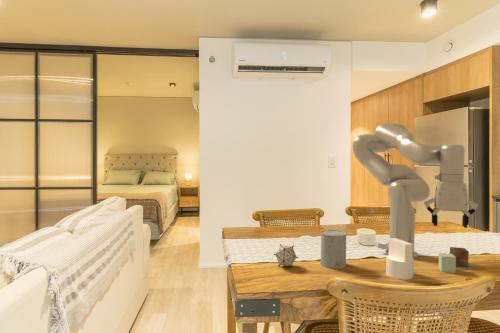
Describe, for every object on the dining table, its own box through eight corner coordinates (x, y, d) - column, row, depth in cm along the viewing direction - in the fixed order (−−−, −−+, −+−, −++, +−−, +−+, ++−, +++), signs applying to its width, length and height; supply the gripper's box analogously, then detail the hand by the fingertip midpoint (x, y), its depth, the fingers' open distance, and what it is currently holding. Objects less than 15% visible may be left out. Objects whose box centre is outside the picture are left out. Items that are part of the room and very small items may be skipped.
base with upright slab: (419, 278, 123) (420, 243, 122) (397, 280, 120) (398, 245, 120) (401, 269, 131) (402, 237, 131) (380, 272, 129) (381, 239, 128)
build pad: (448, 268, 133) (448, 267, 133) (442, 261, 141) (442, 260, 141) (476, 270, 130) (476, 269, 130) (468, 263, 139) (468, 262, 139)
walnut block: (453, 266, 134) (453, 250, 134) (449, 262, 139) (450, 247, 139) (468, 267, 133) (468, 251, 132) (464, 263, 138) (464, 248, 137)
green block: (441, 272, 128) (441, 256, 128) (438, 268, 133) (438, 252, 132) (455, 274, 127) (455, 257, 127) (451, 270, 131) (452, 253, 131)
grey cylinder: (318, 267, 134) (318, 234, 133) (322, 259, 143) (322, 229, 142) (344, 270, 130) (345, 236, 130) (347, 262, 139) (347, 231, 139)
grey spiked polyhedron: (289, 275, 136) (305, 253, 136) (285, 274, 128) (301, 251, 129) (271, 260, 140) (286, 239, 140) (266, 258, 132) (282, 236, 133)
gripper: (427, 179, 127) (426, 226, 128) (482, 180, 123) (480, 229, 123) (422, 177, 134) (421, 222, 135) (474, 178, 130) (473, 225, 131)
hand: (449, 226), depth 129 cm, fingers open, 9 cm apart
